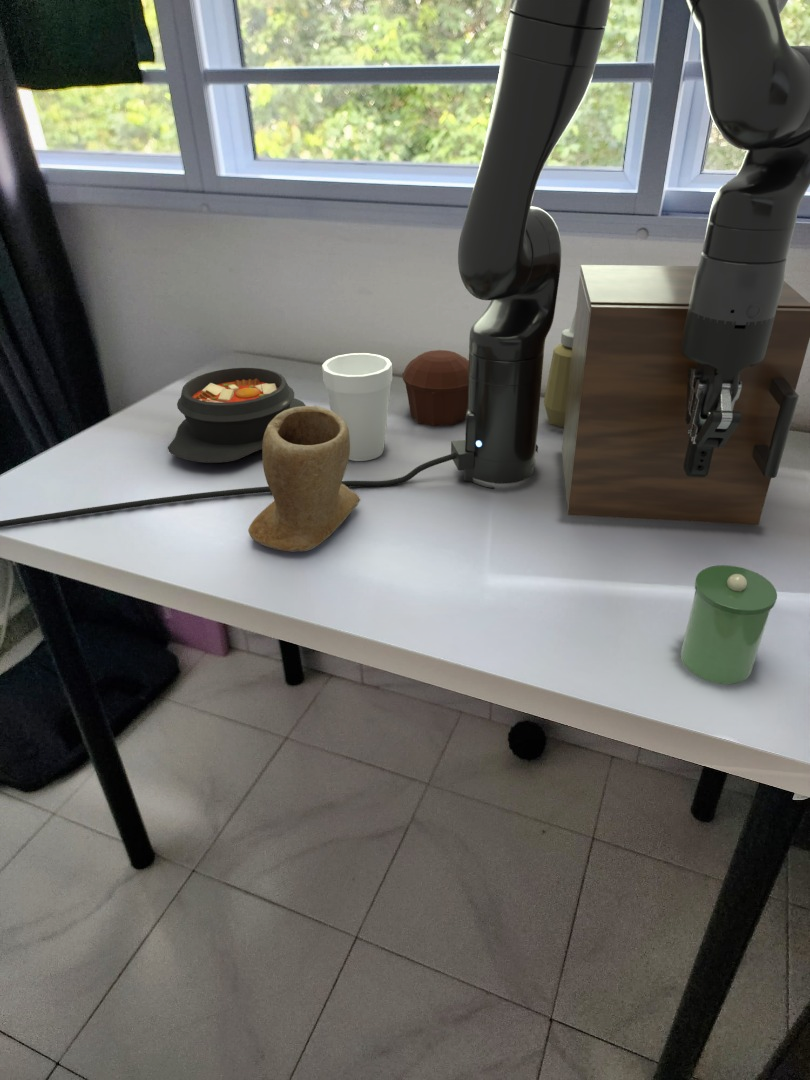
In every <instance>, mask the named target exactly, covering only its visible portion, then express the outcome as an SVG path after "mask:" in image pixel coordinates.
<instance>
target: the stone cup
mask: <svg viewBox="0 0 810 1080" xmlns="http://www.w3.org/2000/svg"><path fill="white" fill-rule="evenodd" d="M261 451H262V454H261V455H262V468H263V473H264V477H265V481H266V484H267V486H269V488H270V490H271V492H270V493H271V495H272V497H273V501H272V502H271V503H270V504H268V505H267V506H266V507H265V508H264V509H263V510H262V511H260V513H259V514H258V515H257V516H256V517H255V518H254V519H253V520H252V522H251V523H250V525H249V528H248V529H247V531H248V534H249V536H250V538H251V539H252V540H253V541H254V542H256V543H258V544H261V545H262V546H264V547H267V548H270V549H273V550H278V551H283V552H291V553H292V552H307V551H311V550H313V549H315V548H316V547H318V546H319V545H321V544H322V543H324V542H325V541H326V540H327V539H329V537H330V536H332V535H333V533H334V532H335V531H336V530H337V529H339V528H340V526H341V525H342V524H343V523H344V521H345V520H346V519H347V518H348V517H349V516H350V514H351V513H352V512H353V511H354V510H355V508H356V507H357V506H358V505H359V503H360V501H361V498H360V496H359V495H358V494H357V493H356V492H355V491H353V490H352V489H351V488H349V487H347V486H346V485H344V484H341V483H342V481H343V479H344V475H345V472H346V470H347V467H348V464H349V455H350V436H349V429H348V427H347V424H346V422H345V421H344V420H343V419H342V418H341V417H340V416H339V415H337V414H336V413H335V412H333V411H331V409H328V408H325V407H321V406H315V405H306V406H301V407H294V408H290V409H287V410H284V411H282V412H281V413H279V414H278V415H276V416H275V417H274V418H273V419H272V420H271V422H270V423H269V424H268V426H267V428H266V430H265V433H264V437H263V444H262V450H261Z"/></svg>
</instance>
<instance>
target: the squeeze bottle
mask: <svg viewBox="0 0 810 1080" xmlns="http://www.w3.org/2000/svg"><path fill="white" fill-rule="evenodd" d="M575 317H576V310H575V311H574V315H573V318H572V321H571V324H570V326H569V328H566V329H563V330H562V331H561V337H560V344H558V345H556V346H555V347H554V349H553V351H552V357H551V362H550V367H549V371H548V377H547V382H546V387H545V392H544V393H545V394H544V397H543V405H544V408H545V412H546V416H547V420H548V424H549V425H554V426H557V427H559V428H564V423H565V413H566V404H567V394H568V385H569V375H570V365H571V356H572V346H573V336H574V327H575Z"/></svg>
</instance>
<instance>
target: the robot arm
mask: <svg viewBox="0 0 810 1080" xmlns="http://www.w3.org/2000/svg"><path fill="white" fill-rule="evenodd" d="M685 1H686V2H685V3H687V7H688V9H689V12H690V15H691V17H692V20H693V22H694V25H695V27H696V28H697V31H698V34H699V42H700V43H699V44H700V45H699V46H700V60H701V67H702V73H703V74H702V75H703V83H704V91H705V98H706V103H707V108H708V111H709V114H710V116H711V119H712V121H713V124H714V125H715V127H716V129H717V131H718V132H719V134H720V135H721V137H722V138H723V139H724V140H725V141H726V142H727V143H728V144H729V145H731V146H733V147H734V148H736V149H739V150H743V151H746V153H745V155H744V158H743V160H742V164H741V165H740V168H739V171H738V172H737V173H736V175H735V176H734V177H733V178H731V179H730V180H729V181H727V182H725V183H724V184H723V185H721V186H720V187H719V188H718V189H717V190H716V191H715V195H714V197H713V200H712V202H711V206H710V210H709V214H708V221H707V226H706V231H705V236H704V240H703V247H702V251H701V253H700V254H701V255H700V259H699V261H698V265H697V266H698V268H697V270H696V274H695V277H694V281H693V286H692V291H691V297H690V302H689V307H688V312H687V317H686V323H685V328H684V333H683V338H682V343H681V351H682V353H683V355H684V356H685V357H687V358H688V359H690V360H692V361H694V362H696V363H697V368H689V371H688V373H687V376H688V384H687V409H686V418H685V420H686V424H689V429H688V431H687V433H688V437H691V438H689V442H688V447H687V452H686V456H685V461H684V466H683V468H684V470H685V473H686V475H687V476H689V477H705V476H707V475H708V471H709V467H710V463H711V459H712V454H713V450H714V447H718V448H723V446H724V445H725V444H726V442H727V441H728V439H729V438H730V436H731V435H732V433H733V432H734V431H735V429H736V428H737V426H738V425H739V423H740V421H741V412H740V411H733V407H734V404H735V401H736V400H738V398H739V395H740V392H741V387H742V383H741V381H739V377H740V375H739V373H740V371H741V370H743V369H744V368H746V367H749V366H754V365H757V364H758V363H760V362H761V361H762V360H763V359H764V357H765V354H766V350H767V346H768V342H769V338H770V335H771V331H772V327H773V323H774V319H775V315H776V311H777V307H778V303H779V300H780V296H781V292H782V287H783V282H784V281H785V273H786V272H785V271H786V266H787V265H786V264H787V260H788V259H787V258H788V255H789V252H790V247H791V244H792V239H793V235H794V232H795V228H796V224H797V219H798V213H799V208H800V206H801V203H802V201H803V199H804V198H805V197H804V196H805V195H806V192H807V191H808V189H809V187H810V45H790V44H789V42H788V39H787V38H786V36H785V33H784V29H783V25H782V20H781V16H780V14H781V13H782V11H784V8H785V7H786V5H787V3H788V2H789V0H685ZM610 8H611V0H511V2H510V6H509V9H510V10H509V12H508V17H507V23H506V27H505V33H504V39H503V44H502V49H501V57H500V58H501V59H500V63H499V71H498V72H499V73H498V77H497V82H496V87H495V92H494V97H493V102H492V107H491V111H490V117H489V122H488V126H487V131H486V136H485V141H484V145H483V149H482V150H483V151H482V156H481V159H480V162H479V168H478V171H477V173H476V178H475V182H474V185H473V189H472V192H471V195H470V199H469V203H468V206H467V209H466V213H465V217H464V220H463V225H462V227H461V231H460V236H459V241H458V249H457V266H458V270H459V271H458V272H459V275H460V279H461V282H462V283H463V285H464V287H465V289H466V291H467V292H468V293H469V294H470V295H471V296H473V298H476V299H478V300H481V301H489V304H488V306H487V307H486V309H485V310H484V312H483V313H482V315H480V316H479V318H477V320H475V322H474V323H473V324H472V325H471V328H470V330H469V338H468V341H469V342H468V360H469V373H468V407H467V413H466V416H465V434H464V435H465V439H459V440H451V441H450V442H451V443H450V454H446V455H444V456H441V457H437V458H435V459H432V460H429V461H427V462H424V463H422V464H420V465H418V466H416V467H415V468H413V469H412V470H411V471H409V472H408V473H406V474H405V475H403V476H401V477H397V478H393V479H387V480H342V483H341V484H344V485H346V486H347V487H348V488H349V487H360V488H361V487H363V488H365V487H367V488H380V487H391V486H396V485H399V484H403V483H407V482H408V481H410V480H412V479H413V478H414V477H415V476H417V475H418V474H419V473H421V472H423V471H424V470H427V469H429V468H432V467H435V466H437V465H440V464H444V463H446V462H449V461H453V463H454V465H455V468H456V469H457V470H458V471H464V473H463V474H464V478H463V479H464V482H467V483H474V484H476V485H478V486H480V487H485V488H489V489H495V487H496V484H501V485H502V484H503V485H504V484H513V483H518V482H522V481H524V480H526V479H527V480H528V478H530V477H531V476H532V475H533V474H534V473H535V466H536V454H538V452H539V446H538V444H537V441H538V431H539V430H538V429H539V417H540V405H541V394H542V393H541V391H542V381H543V380H542V379H543V371H544V370H543V369H544V359H545V358H544V355H545V345H546V339H547V338H548V337H547V336H548V335H549V332H550V331H551V328H552V326H553V323H554V319H555V314H556V313H555V312H556V306H557V299H558V291H559V284H560V278H561V277H560V275H561V267H562V241H561V236H560V235H561V234H560V232H559V228H558V225H557V224H556V222H555V220H554V218H553V217H552V216H551V215H550V214H549V213H548V212H547V211H546V210H544V209H542V208H540V207H537V206H532V202H533V199H534V195H535V191H536V188H537V185H538V182H539V180H540V177H541V174H542V172H543V170H544V168H545V166H546V163H547V161H548V160H549V158H550V156H551V154H552V153H553V152H554V149H555V147H556V146H557V145H558V143H559V141H560V139H561V138H562V136H563V135H564V133H565V132H566V130H567V129H568V127H569V125H570V123H571V122H572V120H573V118H574V117H575V115H576V113H577V112H578V109H579V108H580V106H581V104H582V102H583V101H584V98H585V97H586V94H587V92H588V89H589V88H590V85H591V83H592V79H593V76H594V73H595V70H596V65H597V61H598V57H599V53H600V49H601V46H602V42H603V39H604V35H605V30H606V26H607V24H608V18H609V13H610ZM262 493H263V494H264V493H272V492H271V490H270V488H269V486H268V485H266V486H257V487H256V486H255V487H245V488H236V489H224V490H216V491H215V490H213V491H205V492H198V493H189V494H180V495H171V496H165V497H164V496H163V497H155V498H149V499H140V500H134V501H126V502H119V503H113V504H106V505H98V506H92V507H83V508H78V509H72V510H71V509H70V510H64V511H58V512H52V513H45V514H39V515H38V514H37V515H31V516H24V517H18V518H11V519H4V520H0V528H5V527H11V526H19V525H24V524H31V523H38V522H43V521H44V522H45V521H51V520H57V519H58V520H59V519H65V518H71V517H78V516H84V515H92V514H97V513H105V512H111V511H120V510H125V509H126V510H127V509H133V508H139V507H146V506H155V505H161V504H162V505H163V504H170V503H177V502H187V501H195V500H203V499H210V498H211V499H212V498H213V499H214V498H221V497H230V496H232V497H233V496H240V495H241V496H242V495H253V494H262Z"/></svg>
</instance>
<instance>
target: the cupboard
mask: <svg viewBox="0 0 810 1080" xmlns="http://www.w3.org/2000/svg"><path fill="white" fill-rule="evenodd" d="M697 268H698V265H634V264H633V265H632V264H631V265H630V264H629V265H626V264H625V265H622V264H621V265H620V264H619V265H617V264H580V270H579V271H580V272H579V280H578V289H577V290H578V291H577V298H576V299H577V300H576V308H575V311H576V317H575V327H574V336H573V346H572V356H571V365H570V375H569V385H568V394H567V404H566V413H565V423H564V427H563V433H562V434H563V435H562V444H561V455H562V468H563V477H564V490H565V502H566V509H568V500H569V491H570V483H571V474H572V465H573V456H574V448H575V439H576V430H577V421H578V412H579V404H580V395H581V386H582V377H583V368H584V360H585V351H586V342H587V333H588V325H589V316H590V307H591V305H647V306H689V302H690V297H691V291H692V286H693V281H694V277H695V274H696V270H697ZM777 308H810V302H809V301H808V300H807V299H805V297H804V296H803V295H801V294H800V293H799V292H797V291H796V290H795V288H793V287H792V286H791V285H790V284H788V282H786V281H785V280H784V282H783V287H782V292H781V296H780V300H779V303H778V307H777Z"/></svg>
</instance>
